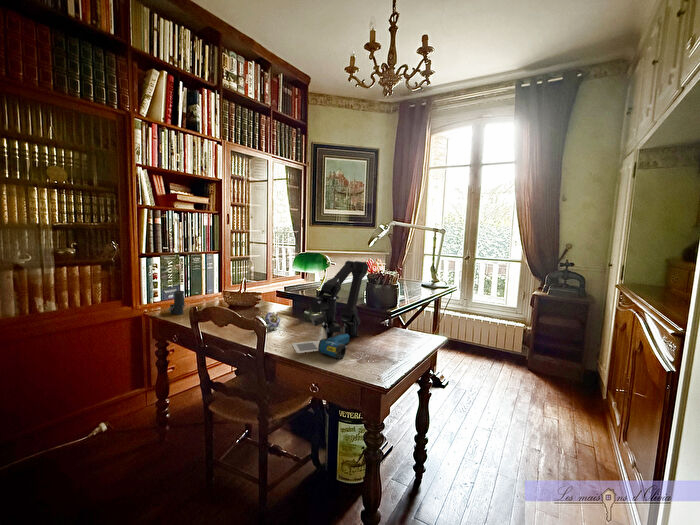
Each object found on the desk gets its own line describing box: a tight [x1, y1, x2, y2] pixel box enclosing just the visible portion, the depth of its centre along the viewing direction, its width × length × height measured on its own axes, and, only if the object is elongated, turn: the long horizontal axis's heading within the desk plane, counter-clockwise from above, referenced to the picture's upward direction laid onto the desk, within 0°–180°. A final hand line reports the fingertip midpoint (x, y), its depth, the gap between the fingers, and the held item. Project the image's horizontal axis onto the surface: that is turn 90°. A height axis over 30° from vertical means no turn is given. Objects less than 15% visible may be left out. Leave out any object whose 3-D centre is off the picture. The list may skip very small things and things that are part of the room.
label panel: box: [291, 339, 348, 354], centre depth 150 cm, size 24×12×1 cm, turn 113°
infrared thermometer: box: [317, 332, 350, 360], centre depth 145 cm, size 6×13×20 cm
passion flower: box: [260, 310, 282, 332], centre depth 172 cm, size 11×11×12 cm
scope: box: [167, 290, 186, 316], centre depth 192 cm, size 8×14×10 cm
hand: (328, 340), depth 152 cm, fingers closed
